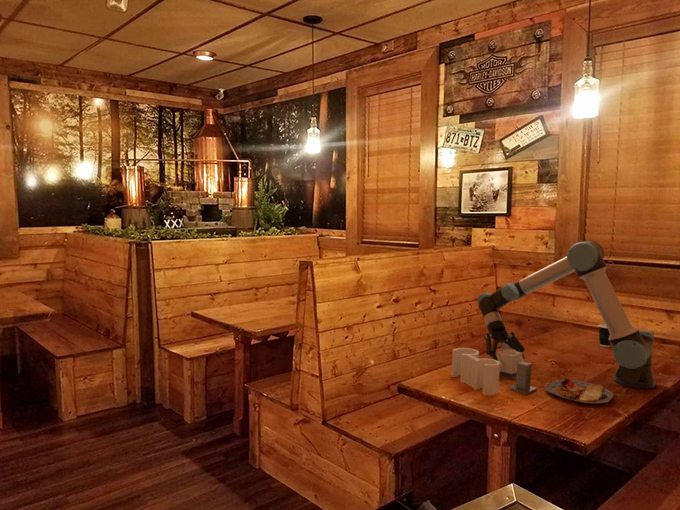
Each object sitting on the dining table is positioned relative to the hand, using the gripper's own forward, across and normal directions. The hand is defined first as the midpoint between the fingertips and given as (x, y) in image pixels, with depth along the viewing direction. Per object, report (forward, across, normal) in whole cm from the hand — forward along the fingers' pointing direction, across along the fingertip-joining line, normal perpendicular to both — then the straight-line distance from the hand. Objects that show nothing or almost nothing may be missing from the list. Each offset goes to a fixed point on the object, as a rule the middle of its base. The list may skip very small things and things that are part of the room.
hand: (512, 367), depth 226 cm
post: (+14, +5, +8) cm, 17 cm away
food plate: (+21, -14, +14) cm, 29 cm away
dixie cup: (-21, -80, -28) cm, 88 cm away
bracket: (+7, +21, +1) cm, 22 cm away
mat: (+1, 0, -5) cm, 5 cm away
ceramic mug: (-16, -19, -23) cm, 34 cm away
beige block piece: (-1, 0, -4) cm, 4 cm away
